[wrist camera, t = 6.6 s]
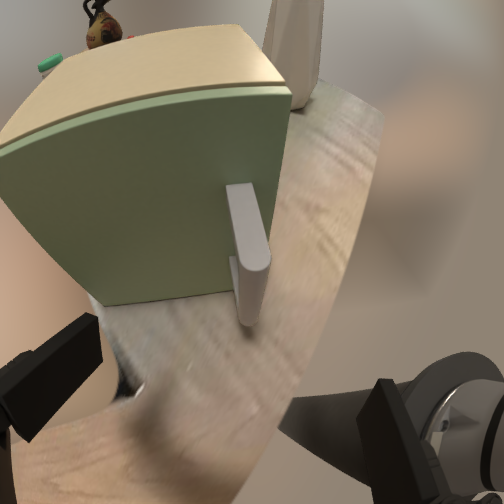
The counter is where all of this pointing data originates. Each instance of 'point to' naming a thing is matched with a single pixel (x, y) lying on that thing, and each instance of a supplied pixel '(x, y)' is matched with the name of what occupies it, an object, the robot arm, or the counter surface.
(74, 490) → the counter surface
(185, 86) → the cupboard
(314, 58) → the tall faceted taper
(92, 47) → the ceramic jug
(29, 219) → the cupboard door
